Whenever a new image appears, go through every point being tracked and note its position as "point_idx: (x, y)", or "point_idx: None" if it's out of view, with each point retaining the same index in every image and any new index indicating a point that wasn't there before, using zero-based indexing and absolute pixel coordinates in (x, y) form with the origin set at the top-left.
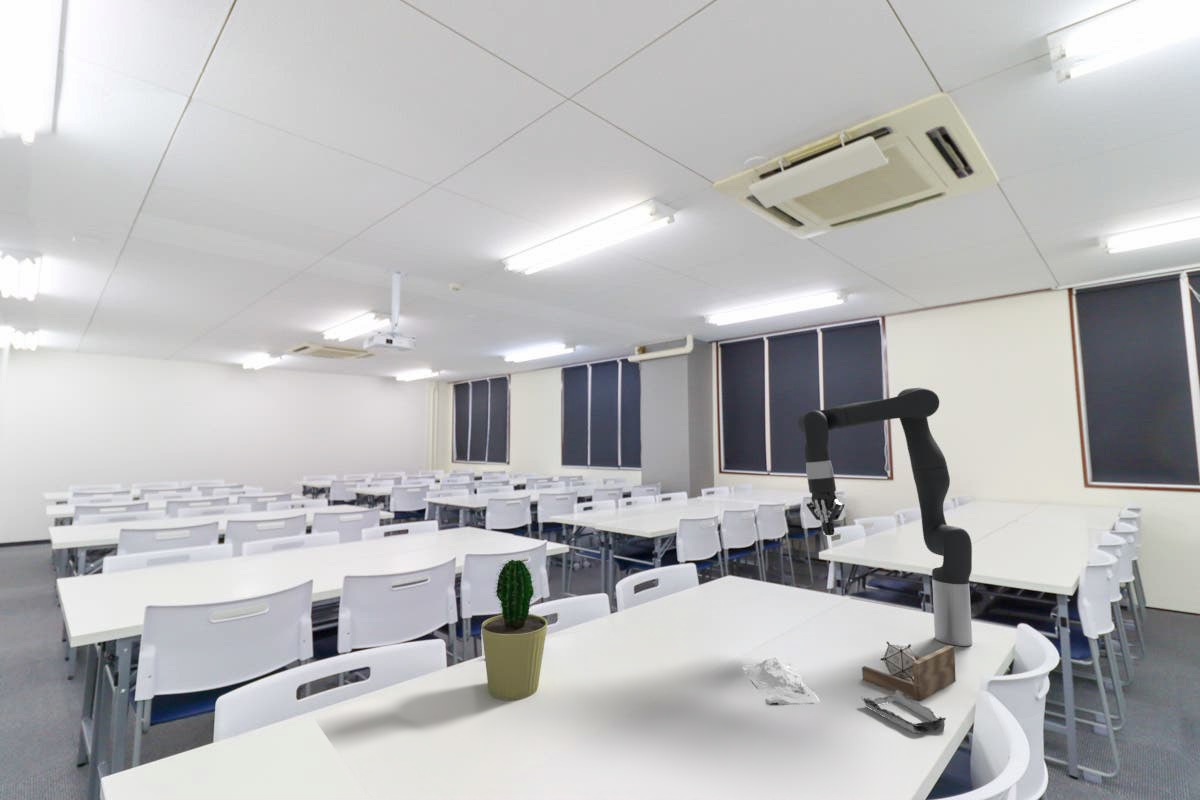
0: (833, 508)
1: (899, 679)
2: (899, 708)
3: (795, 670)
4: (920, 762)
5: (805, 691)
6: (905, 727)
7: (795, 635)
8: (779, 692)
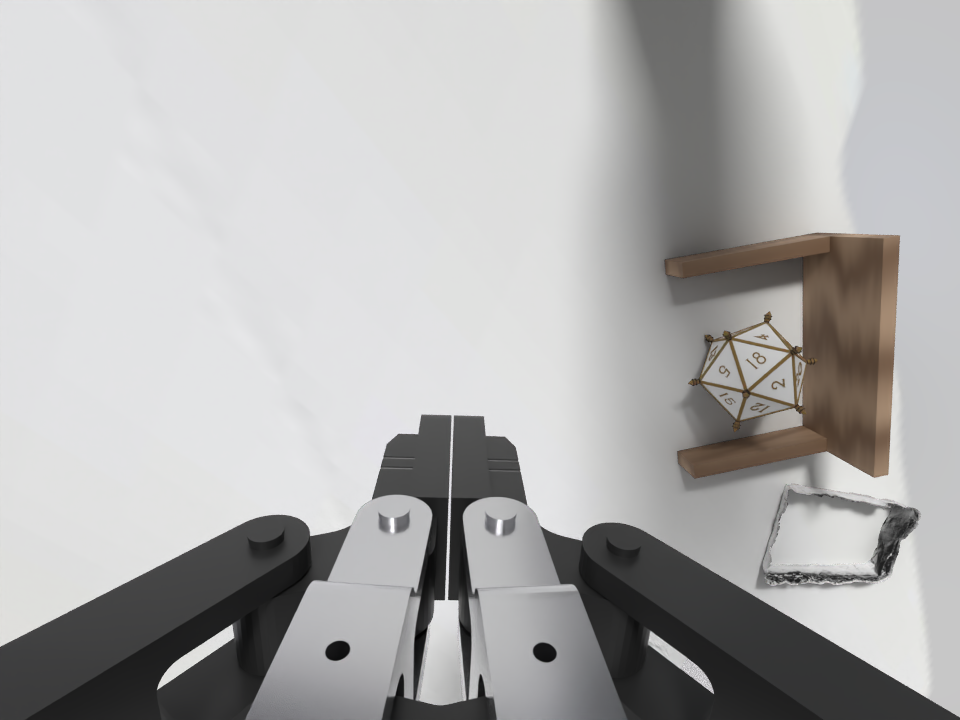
0: (608, 694)
1: (791, 455)
2: (804, 506)
3: None
4: (911, 630)
5: (655, 636)
6: (852, 566)
7: (330, 376)
8: None
